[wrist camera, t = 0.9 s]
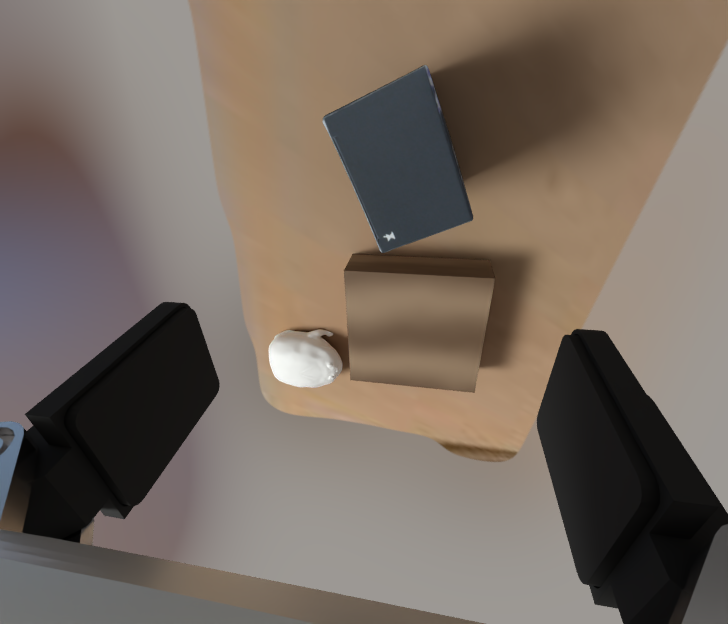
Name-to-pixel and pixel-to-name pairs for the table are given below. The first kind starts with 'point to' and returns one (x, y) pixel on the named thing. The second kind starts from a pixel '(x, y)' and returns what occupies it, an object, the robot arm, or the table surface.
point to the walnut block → (417, 319)
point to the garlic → (304, 358)
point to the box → (401, 161)
